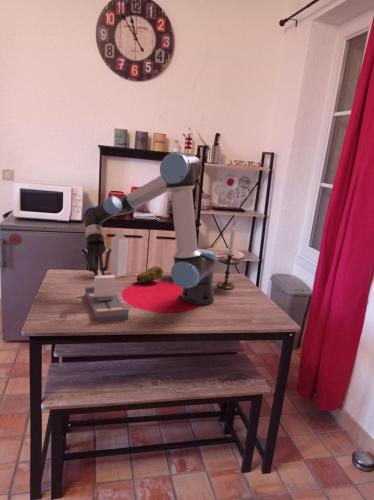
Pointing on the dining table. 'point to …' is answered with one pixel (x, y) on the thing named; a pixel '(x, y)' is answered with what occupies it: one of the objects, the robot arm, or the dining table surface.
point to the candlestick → (228, 263)
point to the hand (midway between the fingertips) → (100, 285)
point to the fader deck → (106, 307)
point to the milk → (119, 255)
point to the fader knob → (104, 287)
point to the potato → (150, 275)
